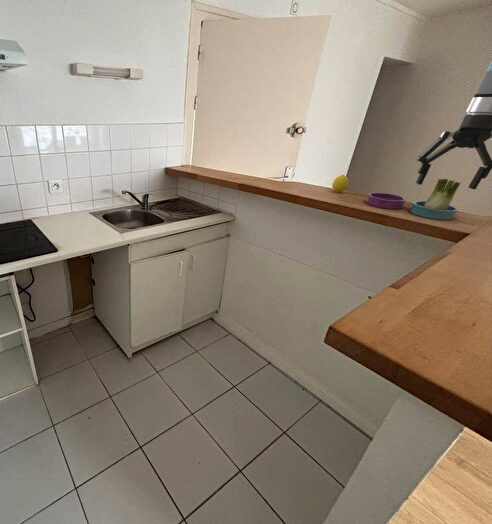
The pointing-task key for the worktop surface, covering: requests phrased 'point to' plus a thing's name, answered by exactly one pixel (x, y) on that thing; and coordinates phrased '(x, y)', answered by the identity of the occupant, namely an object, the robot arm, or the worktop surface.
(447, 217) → the teal bowl
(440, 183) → the fennel bulb
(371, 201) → the plum bowl
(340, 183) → the lemon
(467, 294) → the worktop surface
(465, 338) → the worktop surface
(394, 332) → the worktop surface
